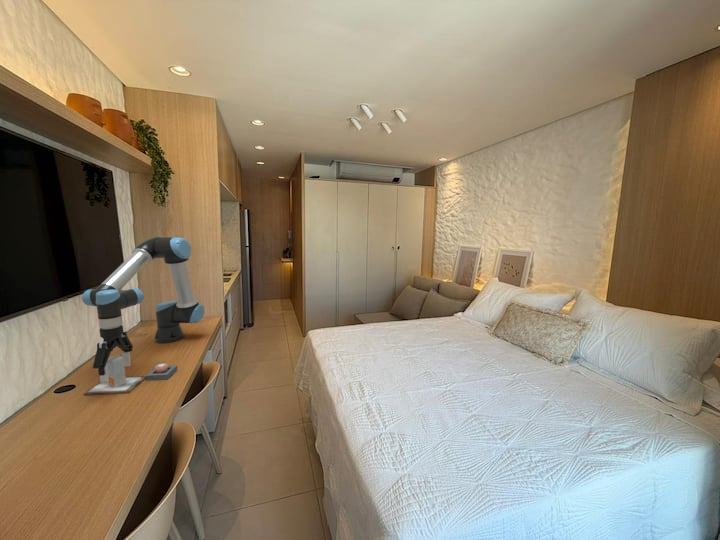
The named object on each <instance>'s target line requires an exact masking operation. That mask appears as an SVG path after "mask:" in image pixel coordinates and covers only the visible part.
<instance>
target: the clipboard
mask: <svg viewBox="0 0 720 540" xmlns="http://www.w3.org/2000/svg"><path fill="white" fill-rule="evenodd" d="M144 381H146V375H134V376H133V375H132V376H130V375H129V376H126V383H125V384H123V385H120V386H118V387H114V386H112V385H110V384H108V382H100V381H99V383H97V384H95V385H93V386H92V387H91V388H90V389H88V390H87V391H85V392H84V393H83V396H98V395H99V396H100V395H101V396H102V395H118V394H119V395H121V394H122V395H123V394H130V393H131V392H132V391H133V390H135V388H137V387H138V386H139V385H141V384H142V383H143V382H144Z"/></svg>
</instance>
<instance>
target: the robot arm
mask: <svg viewBox="0 0 720 540" xmlns="http://www.w3.org/2000/svg"><path fill="white" fill-rule="evenodd" d="M191 252H192V247H191V244H190V242H189V241H188V240H187V239H186V238H183V237H177V236H175V237H174V236H171V237H168V236H167V237H164V236H163V237H160V236H157V237H156V236H154V237H152V238H151V237H150V238H149V239H147V240H144V241H143V242H141V243H139V244H138V245H137V246H136V247H135V248H134V249H132V252H131V255H130V256H128V257H127V258H126V259H125V260H124V261H123V262H122V263H120V265H119V266H118V267H117V268H116V269H115V270H114V271H113V272H112V273H110V275H109V276H107V278H106V279H105V280H104V281H103V282H101V284H100V285H99V286H97V287H96V288H91V289H86V291H84V292H83V294H82V297H81V299H82V303H83V304H84V305H86V306H89V307H90V306H91V307H96V311H97V313H96V314H97V319H98V327H99V337H100V338H102V339H103V340H102V342H98V343H97V344H96V352H95V356H94V359H93V360H94V361H93V365H92V369H98V370H97V371H98V376H99V383H100V382H108V381H109V377H108V369H107V366H106V363H107V360H108V358H109V357H110V355H111V354H112V353H111V352H113V350H114V349H115V348H116V347H117V348H119V349H120V350H121V351H122V352H121V357H123V358H124V367H130V366H131V365H132V364H131V363H132V362H131V352H132V351H133V348H134V346H133V343H132V342H131V341H130V338H129V337H128V334H127V331H124V325H123V316H122V310H124V309H127V308H130V307H133V306H136V305H139V304H141V303H142V302H143V300H144V292H143V291H142V290H141V289H140V288H139V289H138V288H128V289H123V288H124V287H125V286H126V285H127V284H129V282H130V281H131V280H132V279H133V278H134V277H135V276H136V275H137V274H138V272H139V271H140V270H141V269H143V267H144V266H145V265H146V264H149V263H151V262H152V261H153V260H155V259H163V260H164V261H163V262H164V264H166V265H167V266H168V267H169V271H170V276H171V279H172V282H173V287H174V289H175V294H176V298H177V300H172V301H171V300H169V301H165V302H161V303H158V304H156V305H155V318H156V326H157V327H156V328H157V329H156V331H155V336H154V342H155V343H158V344H159V343H160V344H168V343H173V342H177V341H180V340H182V339H183V338H184V337H185V334H184V331H183V329H182V327H181V324H198V323H200V322H201V321H202V319H203V318H204V314H205V306H204V305H203V304H202V303H200V302H199V300H198V299H197V298H195V293H194V290H193V286H192V281H191V276H190V272H189V268H188V263H187V262H188V261H189V258H190V257H191V255H192V253H191Z"/></svg>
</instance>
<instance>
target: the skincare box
mask: <svg viewBox="0 0 720 540" xmlns="http://www.w3.org/2000/svg"><path fill="white" fill-rule="evenodd" d="M106 366H107V369H108V377H109V381H108V384H110V385H112V386H114V387H118V386H120V385H123V384H125V383H126V377H127V376H126V368H125V367H126V366H124V358H123V357H122V355H118V354H115V355H112V356H109V358H108V360H107V363H106Z"/></svg>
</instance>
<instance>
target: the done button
mask: <svg viewBox="0 0 720 540" xmlns="http://www.w3.org/2000/svg"><path fill="white" fill-rule="evenodd" d="M168 366H169V363H168V362H160V363H157V364H156V365H154V368H155V373H166V372H167V371H168Z"/></svg>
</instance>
